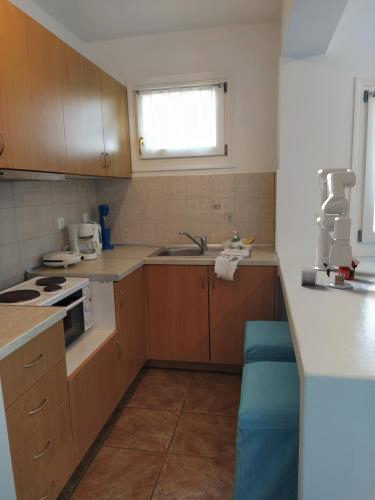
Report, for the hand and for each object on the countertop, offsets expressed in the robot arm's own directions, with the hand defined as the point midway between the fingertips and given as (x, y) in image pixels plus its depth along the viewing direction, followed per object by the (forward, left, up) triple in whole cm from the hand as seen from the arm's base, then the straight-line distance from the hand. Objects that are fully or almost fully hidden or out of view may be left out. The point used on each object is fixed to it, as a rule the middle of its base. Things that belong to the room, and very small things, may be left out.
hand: (339, 277), depth 179 cm
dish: (+1, 0, -4) cm, 4 cm away
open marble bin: (-1, -14, -4) cm, 15 cm away
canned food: (-16, +9, -5) cm, 19 cm away
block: (+2, 0, -3) cm, 4 cm away
